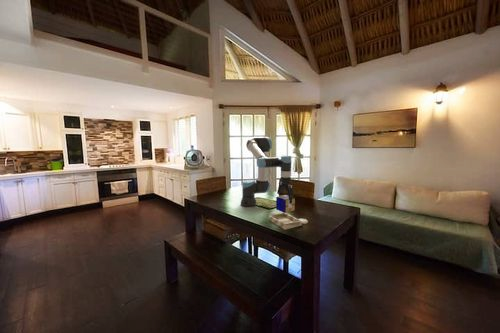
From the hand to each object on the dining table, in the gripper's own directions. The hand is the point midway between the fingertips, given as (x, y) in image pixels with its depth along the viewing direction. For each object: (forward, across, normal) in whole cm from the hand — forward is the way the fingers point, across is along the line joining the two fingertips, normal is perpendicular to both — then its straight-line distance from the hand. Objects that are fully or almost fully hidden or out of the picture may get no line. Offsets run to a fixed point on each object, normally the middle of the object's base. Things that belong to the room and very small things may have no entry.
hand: (285, 205), depth 157 cm
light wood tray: (+13, 0, 0) cm, 13 cm away
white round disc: (+13, +5, +13) cm, 19 cm away
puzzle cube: (+4, 0, 0) cm, 4 cm away
